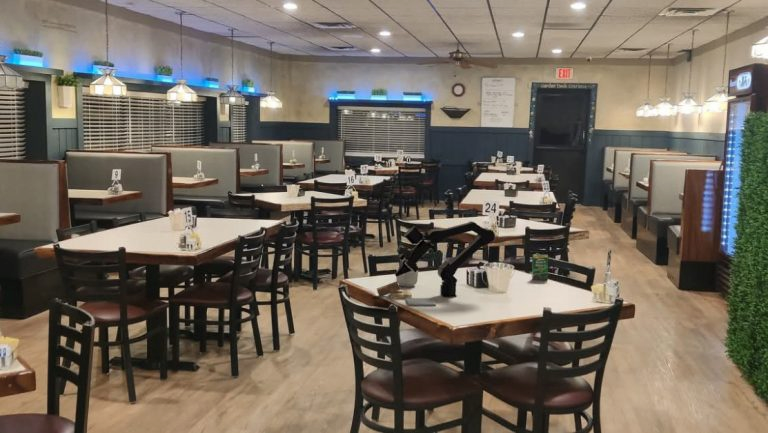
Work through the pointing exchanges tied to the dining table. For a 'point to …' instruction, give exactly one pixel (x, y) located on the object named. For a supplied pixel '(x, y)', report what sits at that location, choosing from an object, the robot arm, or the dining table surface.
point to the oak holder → (401, 294)
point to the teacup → (407, 279)
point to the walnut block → (388, 289)
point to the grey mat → (420, 302)
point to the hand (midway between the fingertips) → (395, 275)
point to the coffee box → (540, 267)
